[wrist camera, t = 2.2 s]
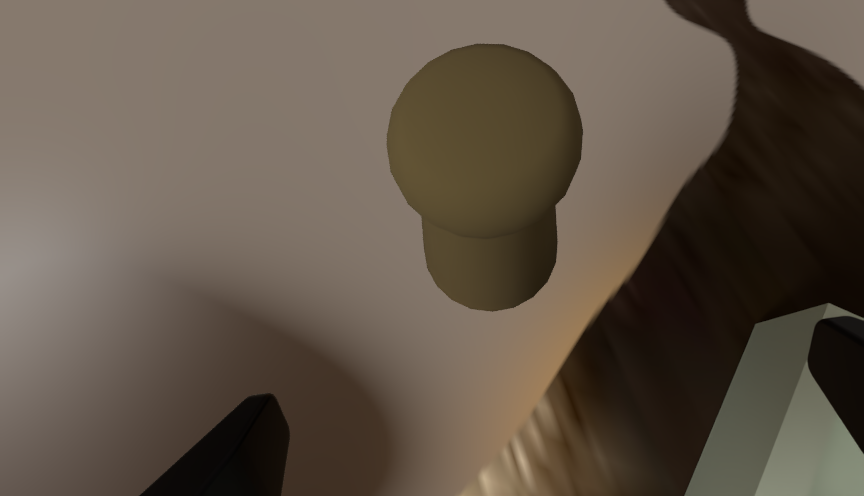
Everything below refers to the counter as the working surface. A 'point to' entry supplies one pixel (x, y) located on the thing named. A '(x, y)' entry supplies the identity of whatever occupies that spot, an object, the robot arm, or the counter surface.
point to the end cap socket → (779, 422)
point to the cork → (486, 169)
